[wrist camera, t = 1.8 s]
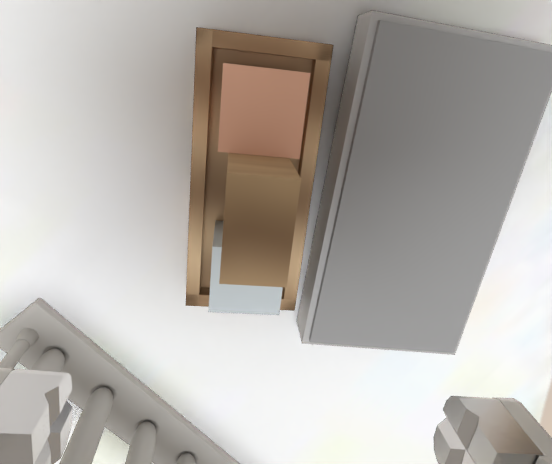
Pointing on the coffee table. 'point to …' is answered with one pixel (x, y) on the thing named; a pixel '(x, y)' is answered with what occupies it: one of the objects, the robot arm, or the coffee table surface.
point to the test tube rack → (104, 394)
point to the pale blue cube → (238, 289)
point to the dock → (419, 181)
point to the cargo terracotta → (262, 111)
